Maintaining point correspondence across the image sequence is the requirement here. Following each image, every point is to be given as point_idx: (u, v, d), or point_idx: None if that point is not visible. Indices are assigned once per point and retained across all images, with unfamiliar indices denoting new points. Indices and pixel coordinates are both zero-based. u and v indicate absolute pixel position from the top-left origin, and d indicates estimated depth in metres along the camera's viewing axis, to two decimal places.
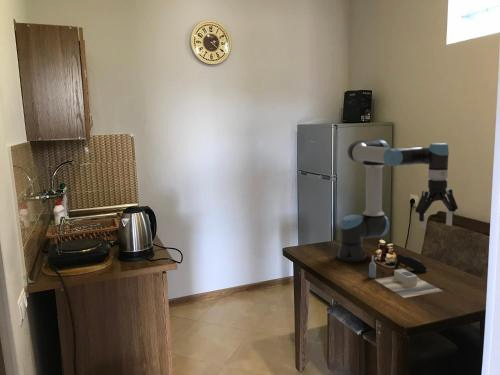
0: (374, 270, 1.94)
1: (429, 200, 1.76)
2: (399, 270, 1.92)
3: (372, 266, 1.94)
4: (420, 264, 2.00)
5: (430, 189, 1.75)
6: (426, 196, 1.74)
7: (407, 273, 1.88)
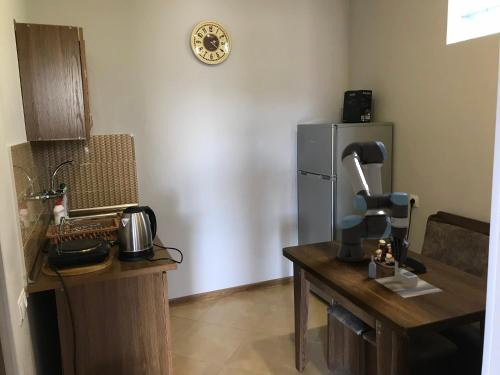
0: (374, 270, 1.94)
1: None
2: (400, 271, 1.92)
3: (372, 266, 1.94)
4: (420, 264, 1.99)
5: None
6: (390, 241, 1.96)
7: (408, 273, 1.87)
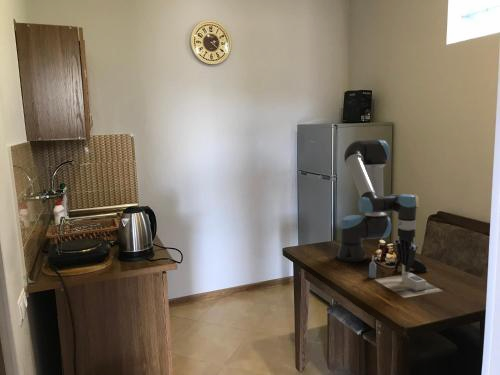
0: (374, 270, 1.94)
1: None
2: (407, 275, 1.87)
3: (372, 266, 1.94)
4: (420, 264, 2.00)
5: None
6: (397, 244, 1.91)
7: (415, 277, 1.82)
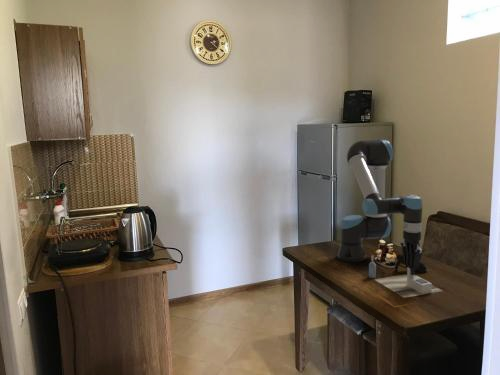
0: (374, 270, 1.94)
1: None
2: (412, 277, 1.83)
3: (372, 266, 1.94)
4: (420, 264, 1.99)
5: None
6: (402, 246, 1.88)
7: (421, 280, 1.79)
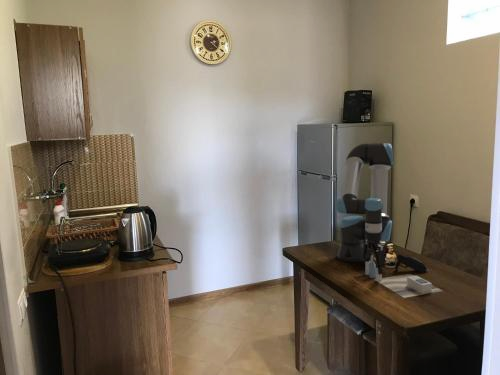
0: (373, 270, 1.94)
1: None
2: (412, 277, 1.83)
3: (371, 266, 1.94)
4: (420, 264, 1.99)
5: None
6: (364, 244, 1.99)
7: (421, 280, 1.79)
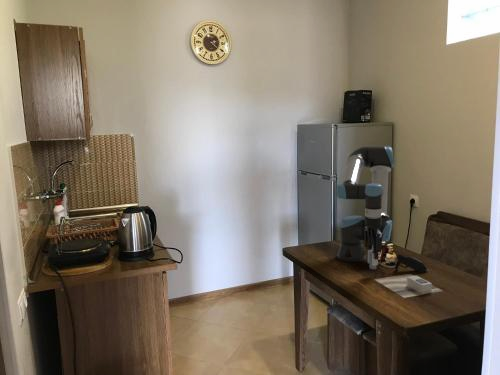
0: None
1: None
2: (412, 277, 1.83)
3: None
4: (420, 264, 1.99)
5: None
6: (364, 231, 1.98)
7: (421, 280, 1.79)
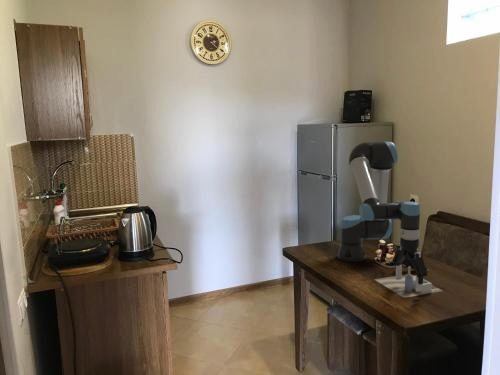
0: (410, 283, 1.76)
1: None
2: None
3: (408, 278, 1.76)
4: None
5: None
6: (397, 249, 1.82)
7: None
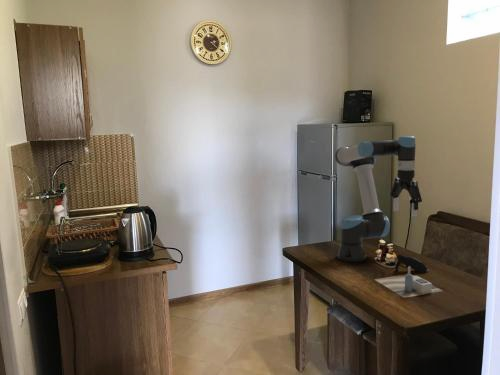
0: (410, 283, 1.76)
1: None
2: None
3: (408, 278, 1.76)
4: (421, 264, 1.99)
5: None
6: (395, 182, 1.98)
7: (421, 280, 1.79)
